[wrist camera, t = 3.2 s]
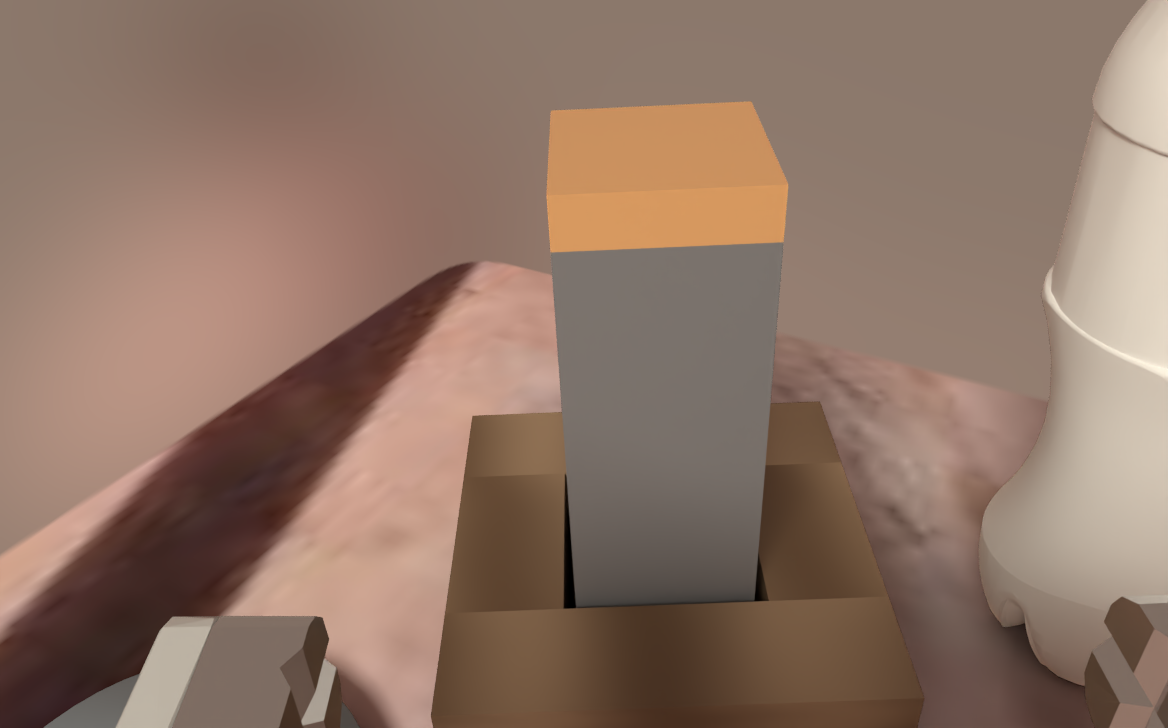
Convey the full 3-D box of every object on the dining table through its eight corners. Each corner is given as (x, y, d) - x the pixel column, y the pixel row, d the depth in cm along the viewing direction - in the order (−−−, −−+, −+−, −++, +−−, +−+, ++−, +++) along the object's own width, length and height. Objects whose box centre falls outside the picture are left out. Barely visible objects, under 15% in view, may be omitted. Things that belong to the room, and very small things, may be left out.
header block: (803, 538, 34) (819, 401, 31) (888, 844, 25) (924, 698, 21) (491, 550, 34) (472, 415, 31) (461, 858, 25) (430, 715, 22)
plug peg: (724, 592, 31) (751, 101, 22) (744, 715, 27) (787, 184, 18) (582, 598, 31) (551, 110, 22) (584, 721, 27) (546, 195, 18)
